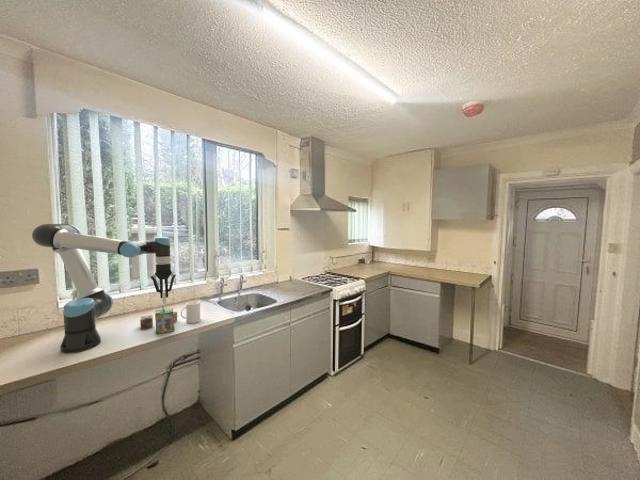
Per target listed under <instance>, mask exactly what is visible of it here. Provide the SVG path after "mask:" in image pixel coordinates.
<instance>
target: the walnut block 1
mask: <svg viewBox="0 0 640 480" xmlns="http://www.w3.org/2000/svg"><path fill="white" fill-rule="evenodd" d="M139 321H140V323H139V324H140V330H147V329H153V328H154V327H153V326H154V324H153V323H154V322H153V321H154V319H153V314H151V315H144V316H140V319H139Z"/></svg>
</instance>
